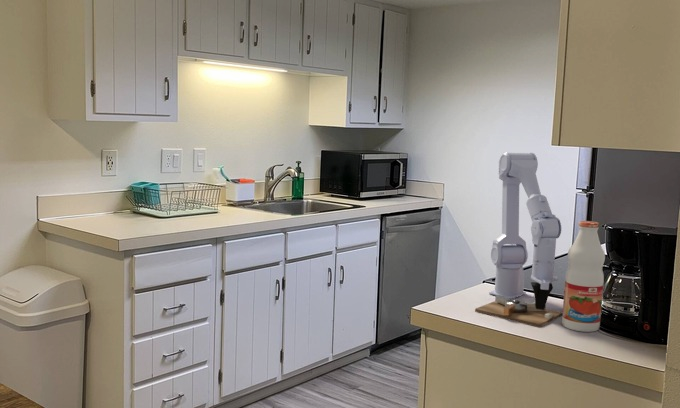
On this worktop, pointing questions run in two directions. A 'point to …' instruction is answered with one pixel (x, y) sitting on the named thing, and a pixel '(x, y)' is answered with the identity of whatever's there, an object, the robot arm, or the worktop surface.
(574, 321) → the fruit juice
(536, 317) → the board
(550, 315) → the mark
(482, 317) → the worktop surface
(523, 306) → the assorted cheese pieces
